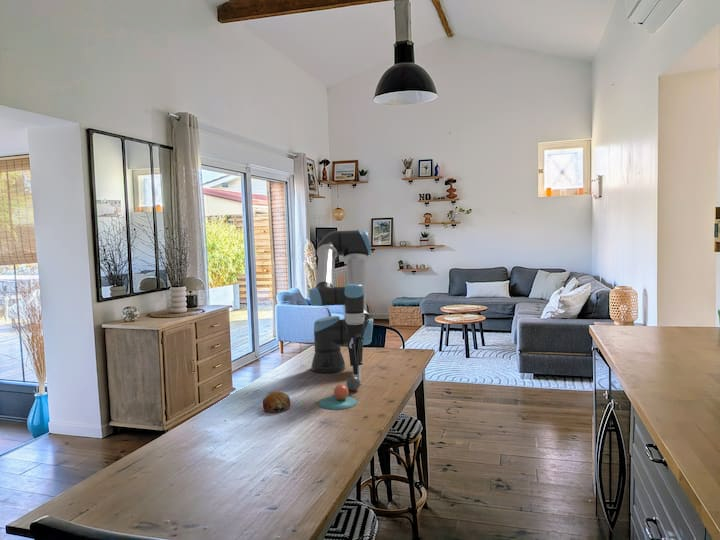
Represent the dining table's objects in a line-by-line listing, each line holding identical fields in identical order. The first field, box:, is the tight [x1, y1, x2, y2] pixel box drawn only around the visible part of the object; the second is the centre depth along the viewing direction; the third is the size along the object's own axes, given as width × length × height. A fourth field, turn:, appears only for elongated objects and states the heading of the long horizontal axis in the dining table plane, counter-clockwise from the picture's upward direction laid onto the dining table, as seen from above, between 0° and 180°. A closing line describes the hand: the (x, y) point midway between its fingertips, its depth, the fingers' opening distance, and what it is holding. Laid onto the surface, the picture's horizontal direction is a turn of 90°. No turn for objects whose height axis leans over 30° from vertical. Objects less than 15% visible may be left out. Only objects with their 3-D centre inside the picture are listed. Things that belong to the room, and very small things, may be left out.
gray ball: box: [345, 375, 361, 391], centre depth 206 cm, size 6×6×6 cm
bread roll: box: [262, 390, 291, 414], centre depth 188 cm, size 10×10×8 cm
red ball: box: [333, 384, 349, 400], centre depth 195 cm, size 6×6×6 cm
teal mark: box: [318, 396, 358, 411], centre depth 192 cm, size 14×14×1 cm
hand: (356, 381), depth 212 cm, fingers closed
